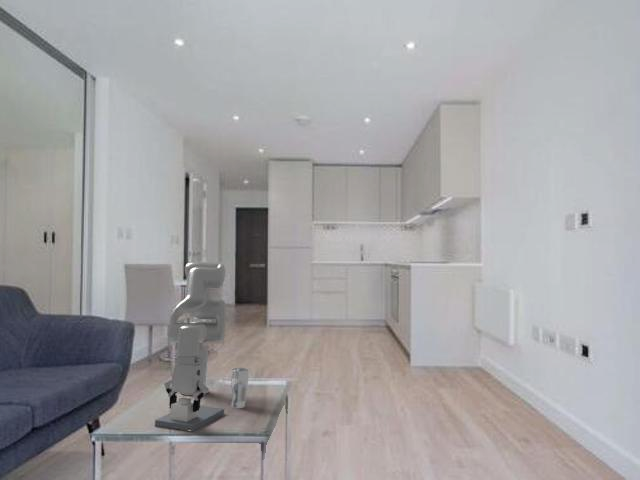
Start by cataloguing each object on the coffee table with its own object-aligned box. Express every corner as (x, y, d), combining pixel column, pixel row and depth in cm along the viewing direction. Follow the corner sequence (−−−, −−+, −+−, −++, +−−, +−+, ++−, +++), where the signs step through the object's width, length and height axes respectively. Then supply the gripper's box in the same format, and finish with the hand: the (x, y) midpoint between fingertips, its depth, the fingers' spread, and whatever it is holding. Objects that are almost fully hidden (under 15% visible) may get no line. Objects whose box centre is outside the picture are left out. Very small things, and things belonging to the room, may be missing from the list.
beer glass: (239, 403, 188) (241, 367, 190) (250, 407, 184) (252, 369, 185) (226, 406, 183) (228, 369, 184) (237, 410, 179) (239, 371, 180)
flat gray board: (154, 425, 157) (155, 409, 157) (190, 409, 178) (191, 394, 178) (192, 431, 152) (193, 415, 153) (224, 414, 173) (224, 399, 174)
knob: (170, 419, 158) (171, 399, 159) (181, 414, 164) (182, 395, 165) (186, 421, 156) (187, 402, 157) (196, 416, 163) (198, 397, 163)
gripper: (214, 360, 163) (211, 409, 162) (173, 356, 168) (169, 403, 167) (203, 364, 156) (200, 415, 154) (160, 359, 161) (157, 409, 159)
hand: (184, 409), depth 161 cm, fingers open, 9 cm apart
